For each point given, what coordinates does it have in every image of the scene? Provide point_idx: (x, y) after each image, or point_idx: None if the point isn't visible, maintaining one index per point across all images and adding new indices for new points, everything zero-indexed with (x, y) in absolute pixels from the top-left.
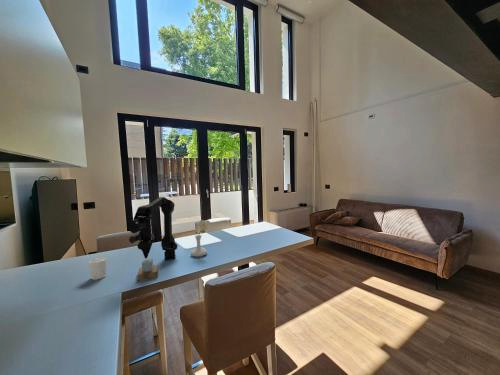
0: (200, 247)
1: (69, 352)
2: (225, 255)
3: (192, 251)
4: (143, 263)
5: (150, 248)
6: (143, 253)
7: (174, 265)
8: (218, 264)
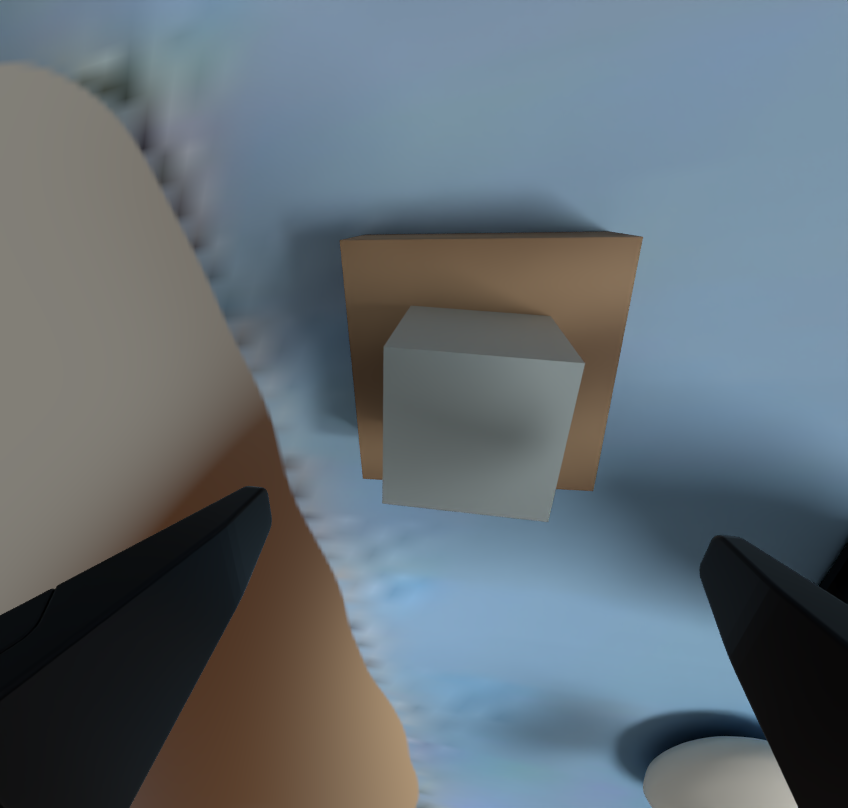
0: None
1: None
2: None
3: (762, 788)
4: (385, 375)
5: (763, 723)
6: (57, 594)
7: (602, 584)
8: (426, 782)
